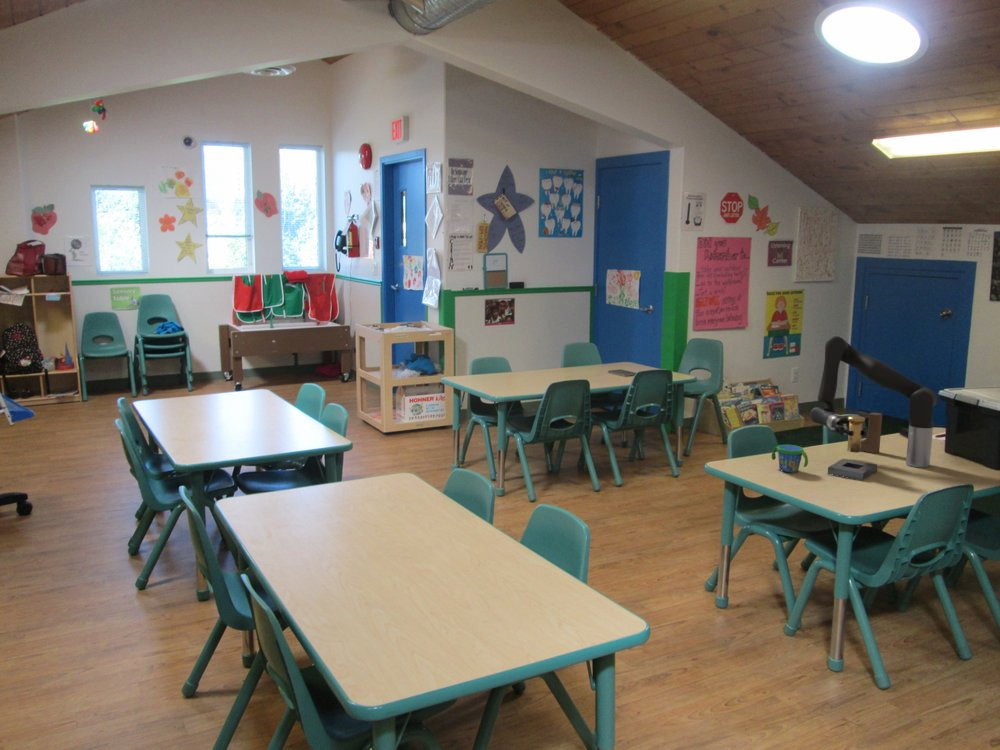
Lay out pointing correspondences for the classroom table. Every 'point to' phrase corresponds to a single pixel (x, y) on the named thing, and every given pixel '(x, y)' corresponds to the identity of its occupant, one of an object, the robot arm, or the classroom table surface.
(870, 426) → the wooden block
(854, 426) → the brass flanged peg
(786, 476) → the classroom table surface
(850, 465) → the plate
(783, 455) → the snack cup
